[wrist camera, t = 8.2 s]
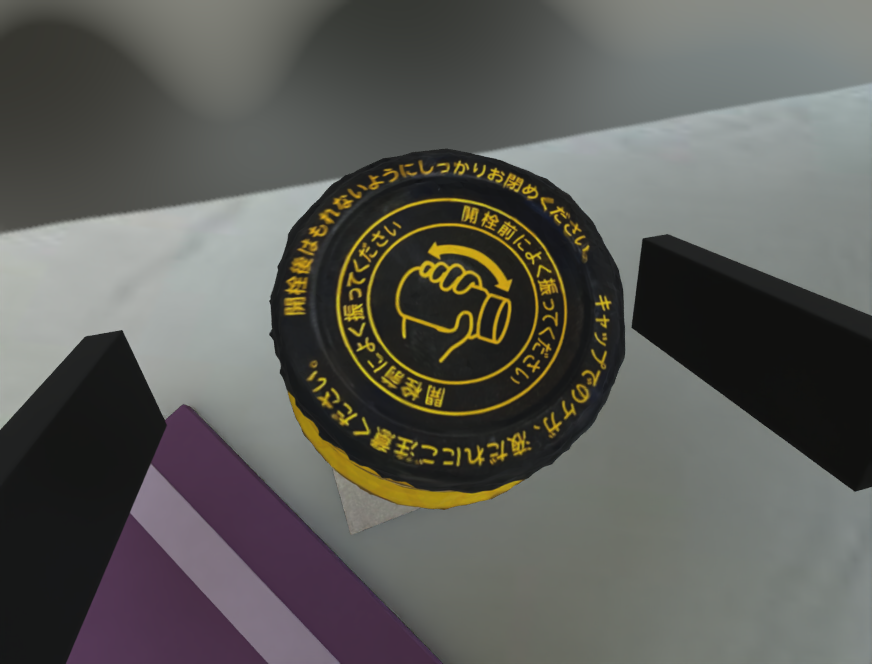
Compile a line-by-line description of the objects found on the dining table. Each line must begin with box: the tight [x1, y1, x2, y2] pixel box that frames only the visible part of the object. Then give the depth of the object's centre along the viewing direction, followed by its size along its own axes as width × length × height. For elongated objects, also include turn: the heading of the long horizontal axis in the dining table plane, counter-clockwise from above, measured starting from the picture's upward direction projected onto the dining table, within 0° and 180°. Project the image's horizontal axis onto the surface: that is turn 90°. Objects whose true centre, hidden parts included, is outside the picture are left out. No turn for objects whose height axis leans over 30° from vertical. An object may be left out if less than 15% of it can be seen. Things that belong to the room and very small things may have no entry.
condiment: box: [269, 149, 625, 535], centre depth 12 cm, size 7×8×12 cm
